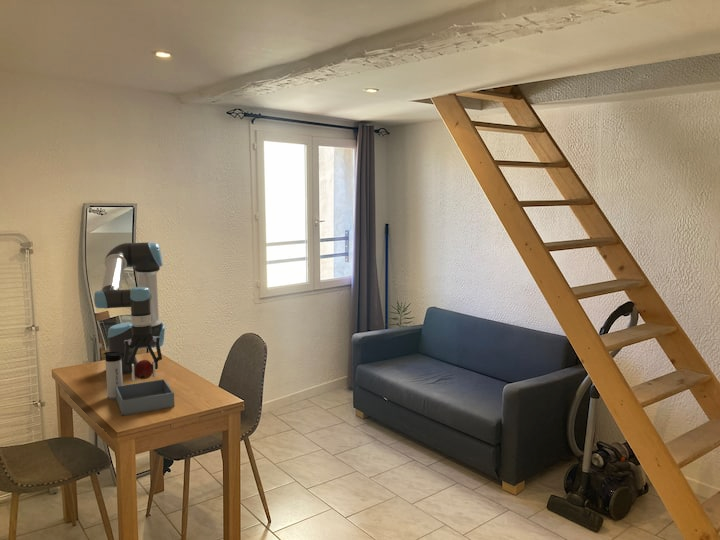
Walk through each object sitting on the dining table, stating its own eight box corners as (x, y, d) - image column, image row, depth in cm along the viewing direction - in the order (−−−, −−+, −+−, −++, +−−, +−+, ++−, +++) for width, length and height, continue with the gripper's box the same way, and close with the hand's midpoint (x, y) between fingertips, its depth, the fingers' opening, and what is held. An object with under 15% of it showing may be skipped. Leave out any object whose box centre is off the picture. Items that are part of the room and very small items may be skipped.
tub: (116, 400, 236) (115, 386, 235) (164, 392, 246) (164, 379, 245) (122, 415, 218) (121, 401, 218) (174, 406, 228) (173, 392, 228)
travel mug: (109, 394, 242) (107, 350, 239) (125, 394, 242) (123, 350, 240) (104, 399, 236) (102, 354, 233) (120, 399, 236) (118, 354, 234)
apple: (157, 377, 233) (156, 358, 232) (144, 382, 226) (143, 363, 225) (143, 375, 236) (142, 357, 235) (130, 380, 228) (129, 362, 227)
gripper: (115, 329, 219) (118, 384, 222) (168, 323, 230) (170, 377, 232) (113, 325, 226) (116, 379, 229) (165, 320, 236) (167, 372, 239)
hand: (143, 378), depth 231 cm, fingers closed on apple, 7 cm apart
